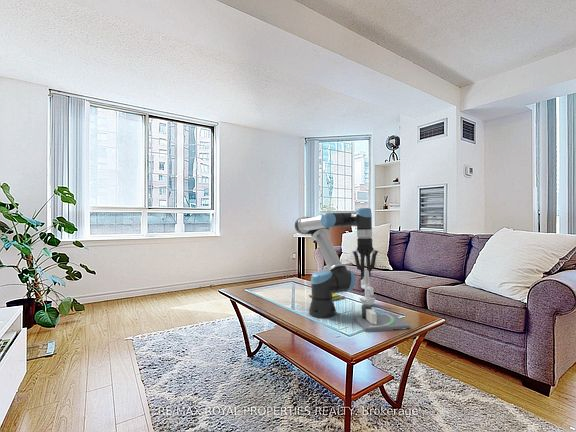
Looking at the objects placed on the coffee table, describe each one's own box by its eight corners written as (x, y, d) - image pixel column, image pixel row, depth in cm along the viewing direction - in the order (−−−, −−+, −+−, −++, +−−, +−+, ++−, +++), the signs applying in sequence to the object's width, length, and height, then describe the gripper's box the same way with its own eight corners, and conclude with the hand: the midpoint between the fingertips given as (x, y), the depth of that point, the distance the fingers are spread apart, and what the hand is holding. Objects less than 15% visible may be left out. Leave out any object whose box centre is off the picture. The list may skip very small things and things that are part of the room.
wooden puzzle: (325, 303, 191) (325, 298, 191) (307, 297, 207) (307, 292, 207) (345, 299, 201) (345, 293, 201) (327, 293, 217) (327, 288, 217)
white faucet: (368, 307, 179) (367, 281, 179) (357, 303, 187) (357, 279, 188) (377, 305, 183) (376, 280, 183) (366, 301, 191) (365, 278, 191)
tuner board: (365, 331, 141) (365, 327, 141) (353, 319, 159) (353, 315, 159) (410, 328, 143) (410, 325, 143) (393, 316, 161) (393, 313, 161)
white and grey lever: (360, 316, 157) (360, 304, 157) (369, 315, 158) (369, 304, 158) (370, 325, 143) (370, 312, 144) (380, 324, 144) (380, 312, 144)
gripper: (353, 238, 151) (355, 285, 151) (380, 237, 153) (382, 284, 152) (349, 237, 159) (350, 282, 158) (374, 236, 160) (376, 281, 160)
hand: (366, 283), depth 155 cm, fingers closed
